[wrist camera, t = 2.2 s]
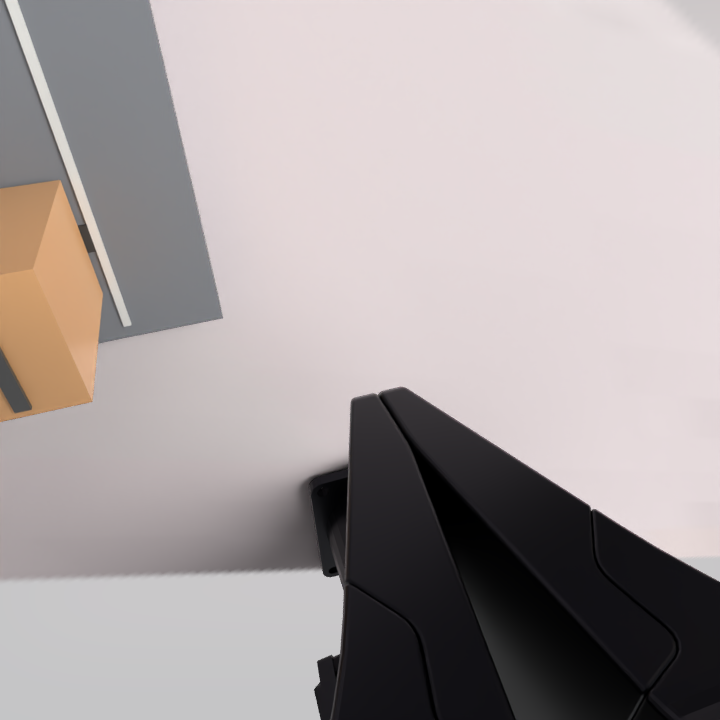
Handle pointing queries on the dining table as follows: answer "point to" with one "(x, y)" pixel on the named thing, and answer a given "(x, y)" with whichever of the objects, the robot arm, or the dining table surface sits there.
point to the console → (107, 154)
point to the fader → (45, 304)
